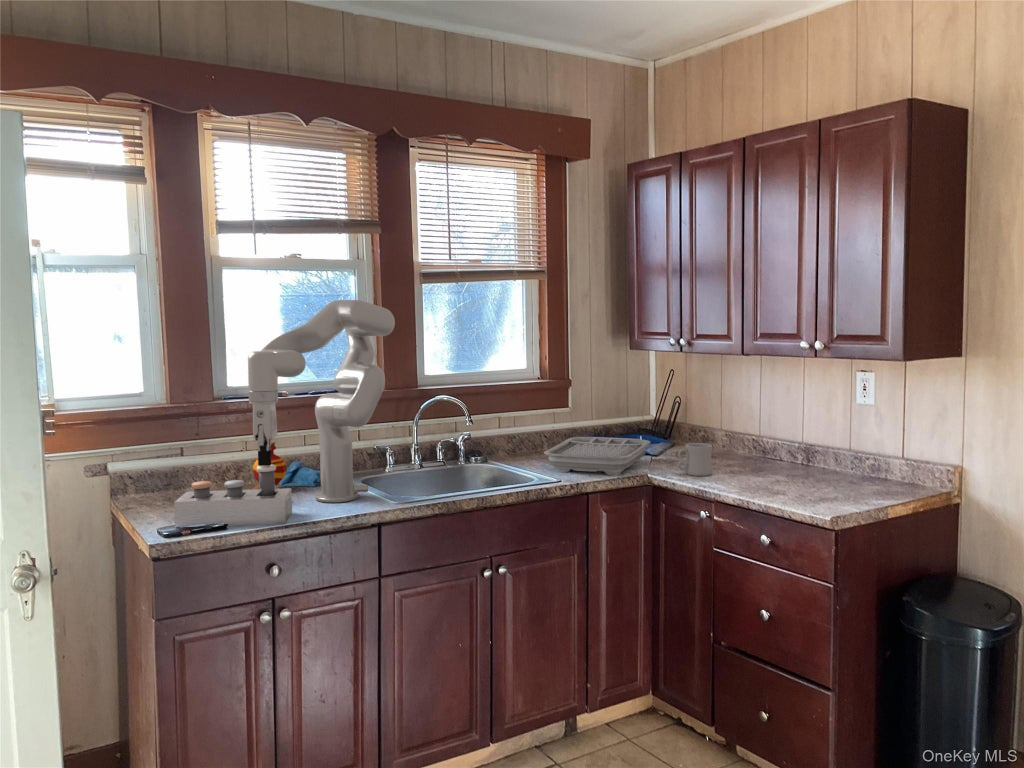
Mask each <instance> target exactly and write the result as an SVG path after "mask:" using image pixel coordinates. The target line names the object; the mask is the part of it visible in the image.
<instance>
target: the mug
mask: <svg viewBox="0 0 1024 768" xmlns="http://www.w3.org/2000/svg"><path fill="white" fill-rule="evenodd" d="M682 452H685V465H684V466H681V464H682V463H683V462H684V457H683V456H682V455H681V453H682ZM712 452H713V445H712V444H710V443H703V442H690V443H686V444H685V445H684V448H681V449H679V450H678V451H677V457H678V458H679V459H680V460H679V461H678V462H677V467H678V469H679V470H681V471H684V472H685V475H688V476H694V477H706V476H711V475H712V474H713V464H712Z"/></svg>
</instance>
